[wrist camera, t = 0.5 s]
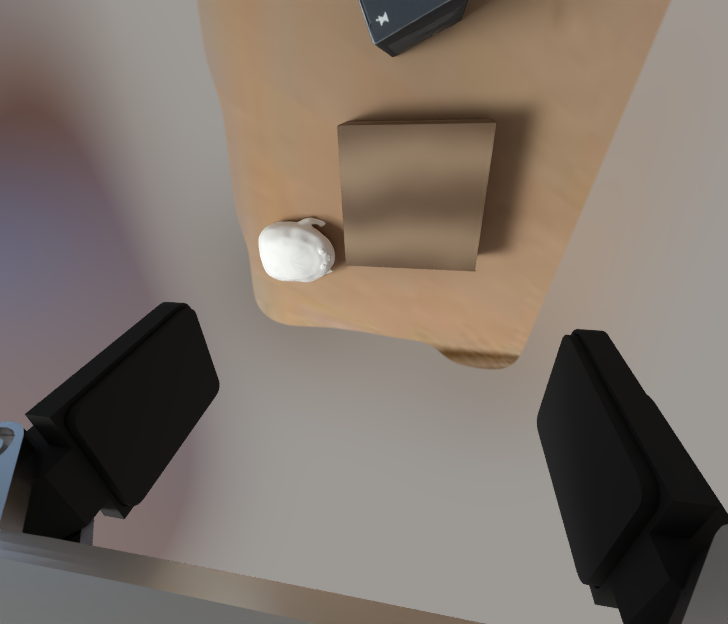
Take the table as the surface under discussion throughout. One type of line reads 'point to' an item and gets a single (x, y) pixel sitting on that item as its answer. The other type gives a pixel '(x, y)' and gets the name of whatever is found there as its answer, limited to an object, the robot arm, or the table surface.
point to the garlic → (296, 251)
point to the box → (408, 21)
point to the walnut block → (414, 191)
